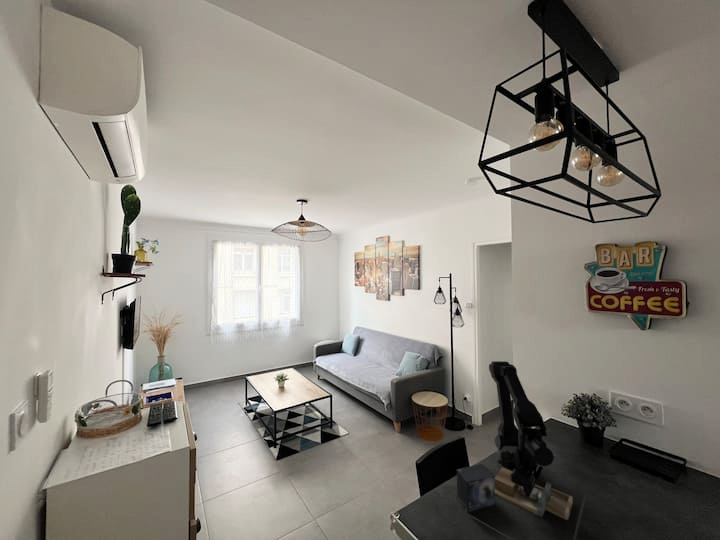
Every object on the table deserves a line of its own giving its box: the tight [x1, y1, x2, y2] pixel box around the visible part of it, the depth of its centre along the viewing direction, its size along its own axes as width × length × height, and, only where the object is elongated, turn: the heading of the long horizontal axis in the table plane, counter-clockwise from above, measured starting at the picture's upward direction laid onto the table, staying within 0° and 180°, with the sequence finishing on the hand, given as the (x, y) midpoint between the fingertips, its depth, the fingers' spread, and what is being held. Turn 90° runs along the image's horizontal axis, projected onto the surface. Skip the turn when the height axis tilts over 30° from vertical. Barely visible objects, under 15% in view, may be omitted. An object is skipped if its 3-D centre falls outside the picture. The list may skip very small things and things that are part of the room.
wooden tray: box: [495, 481, 574, 521], centre depth 98 cm, size 13×22×4 cm, turn 46°
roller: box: [519, 486, 539, 502], centre depth 98 cm, size 4×5×4 cm
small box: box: [456, 463, 496, 514], centre depth 97 cm, size 11×6×10 cm, turn 105°
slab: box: [495, 466, 520, 497], centre depth 103 cm, size 8×6×4 cm
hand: (529, 492), depth 98 cm, fingers open, 4 cm apart
